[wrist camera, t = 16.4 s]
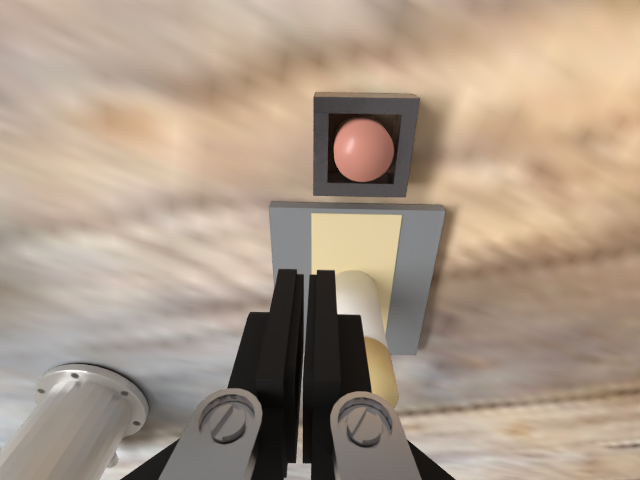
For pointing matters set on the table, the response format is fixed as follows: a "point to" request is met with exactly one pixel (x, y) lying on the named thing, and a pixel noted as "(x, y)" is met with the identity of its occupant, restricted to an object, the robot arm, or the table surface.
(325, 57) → the table surface
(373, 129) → the button
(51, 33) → the table surface
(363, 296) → the marker
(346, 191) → the button housing
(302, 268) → the board
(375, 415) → the robot arm
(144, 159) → the table surface
